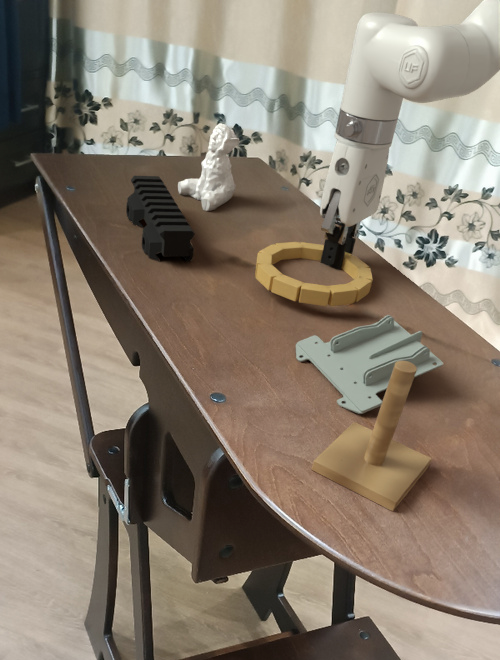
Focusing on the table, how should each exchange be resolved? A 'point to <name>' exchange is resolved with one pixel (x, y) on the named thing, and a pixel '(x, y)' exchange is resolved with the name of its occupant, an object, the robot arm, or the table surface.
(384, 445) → the peg
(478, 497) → the table surface
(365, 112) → the robot arm
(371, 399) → the metal bracket
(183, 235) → the rail mount
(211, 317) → the table surface
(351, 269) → the ring
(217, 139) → the seated beast figurine
